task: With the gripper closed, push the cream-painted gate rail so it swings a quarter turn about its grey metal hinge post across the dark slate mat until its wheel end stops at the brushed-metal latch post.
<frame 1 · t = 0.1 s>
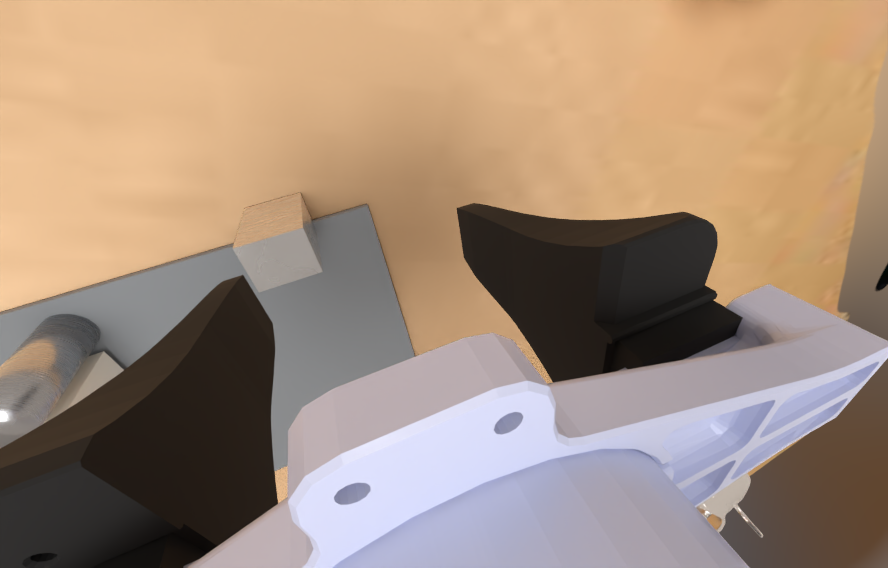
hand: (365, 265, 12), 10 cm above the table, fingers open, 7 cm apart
gate: (142, 448, 21), point 3 cm above the table, hinge at 0.0°
mat: (264, 376, 25), on the table
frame: (74, 327, 19), on the table
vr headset: (677, 464, 72), on the table
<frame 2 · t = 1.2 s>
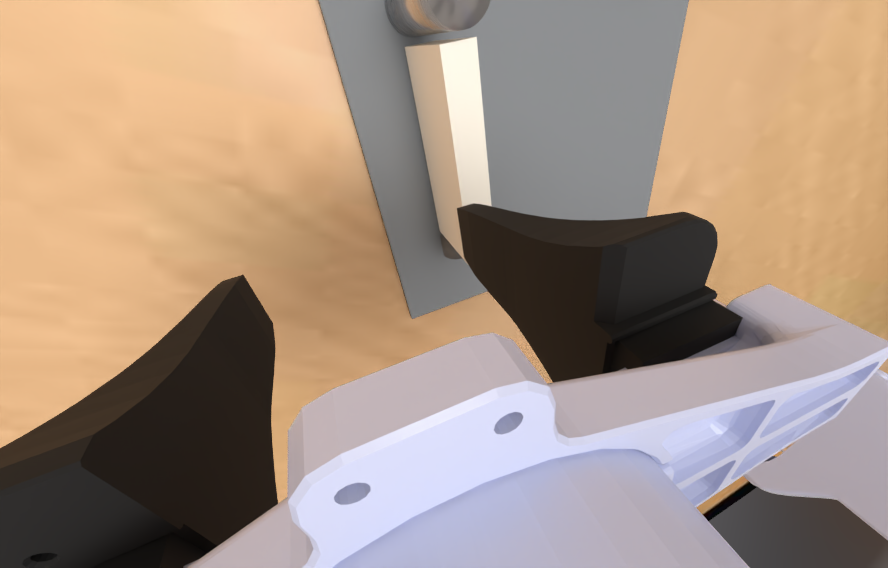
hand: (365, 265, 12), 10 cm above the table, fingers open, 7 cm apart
gate: (454, 172, 18), point 3 cm above the table, hinge at 0.0°
mat: (531, 144, 23), on the table
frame: (408, 6, 17), on the table
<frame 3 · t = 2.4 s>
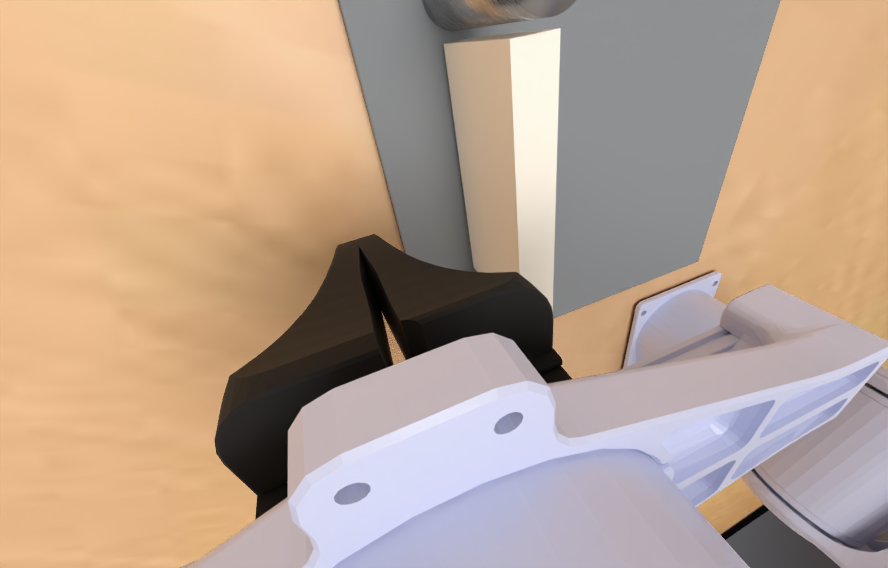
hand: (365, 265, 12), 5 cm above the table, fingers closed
gate: (502, 203, 14), point 3 cm above the table, hinge at 0.0°
mat: (584, 163, 19), on the table
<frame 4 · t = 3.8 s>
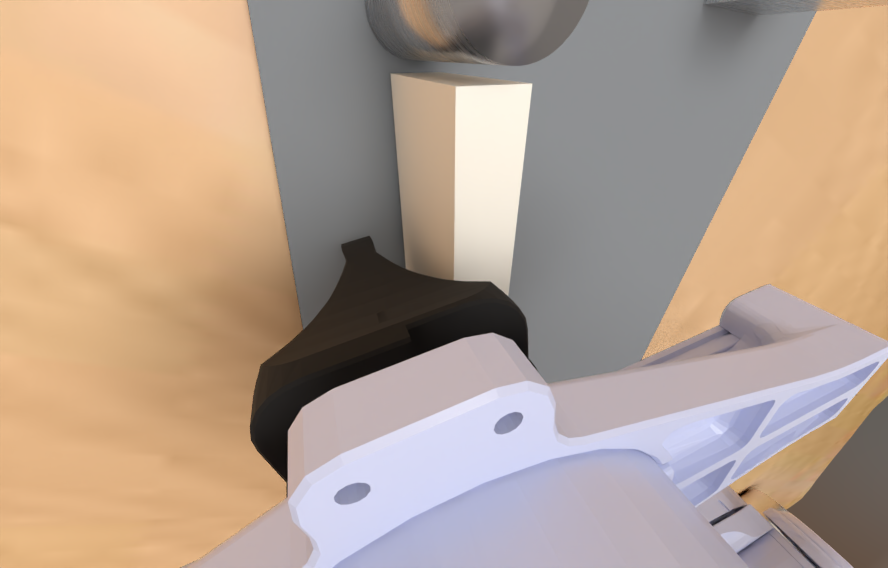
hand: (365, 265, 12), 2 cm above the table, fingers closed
gate: (446, 280, 11), point 3 cm above the table, hinge at 5.3°, touching gripper
mat: (538, 246, 16), on the table
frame: (405, 9, 10), on the table
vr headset: (715, 512, 67), on the table
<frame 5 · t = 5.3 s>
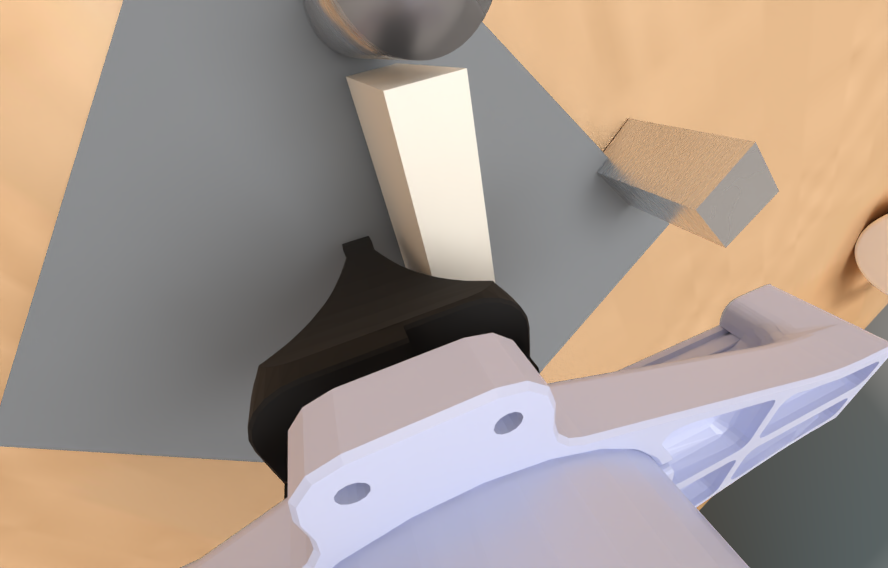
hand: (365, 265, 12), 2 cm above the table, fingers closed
gate: (440, 275, 11), point 3 cm above the table, hinge at 47.8°, touching gripper
mat: (396, 306, 15), on the table
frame: (349, 5, 10), on the table
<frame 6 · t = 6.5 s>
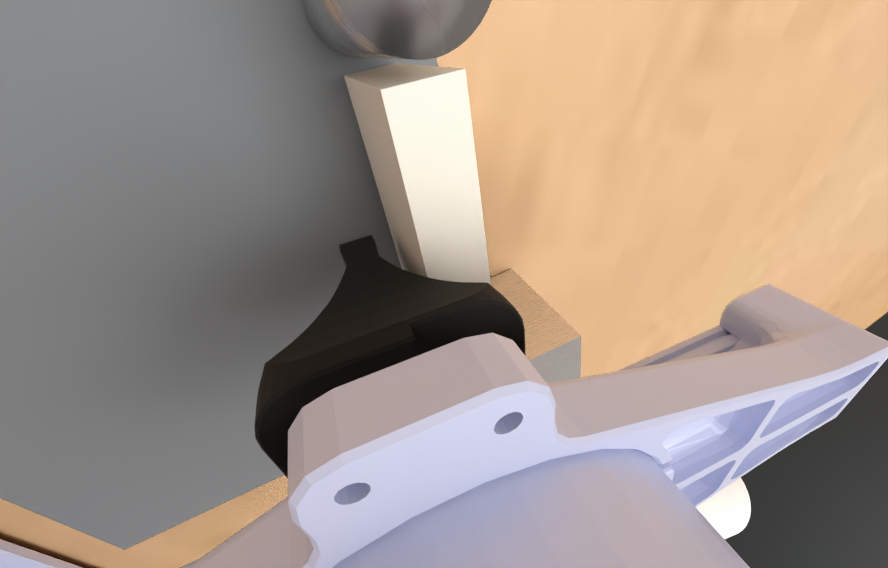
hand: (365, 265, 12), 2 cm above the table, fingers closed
gate: (436, 276, 11), point 3 cm above the table, hinge at 87.1°, touching gripper
mat: (199, 298, 12), on the table
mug: (628, 467, 37), on the table
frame: (348, 4, 9), on the table
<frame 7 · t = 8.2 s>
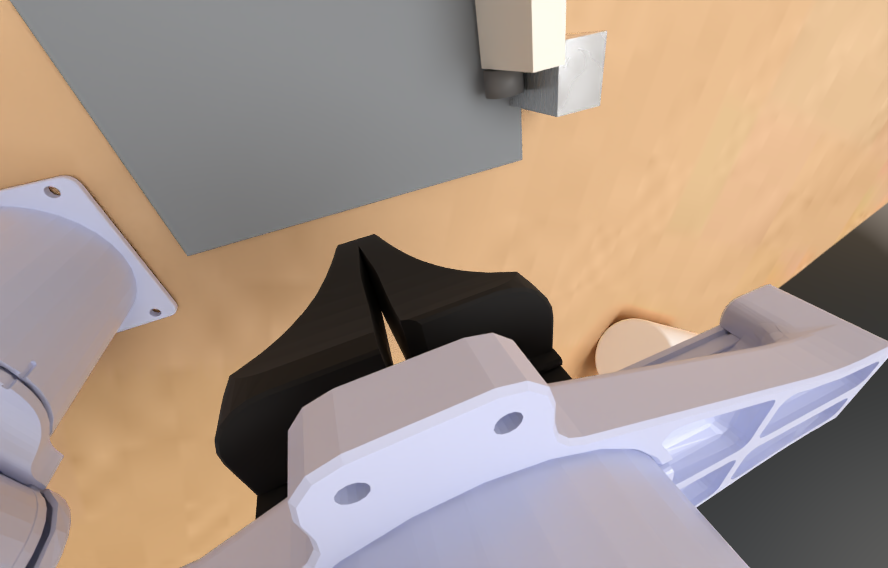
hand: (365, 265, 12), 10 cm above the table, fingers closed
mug: (618, 351, 40), on the table
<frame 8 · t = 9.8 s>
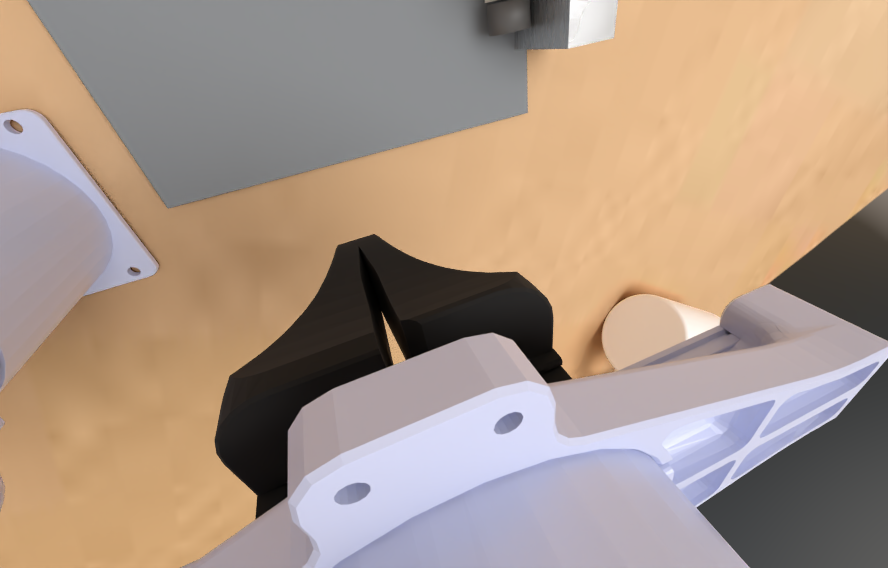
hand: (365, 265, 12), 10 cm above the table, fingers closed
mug: (624, 331, 39), on the table
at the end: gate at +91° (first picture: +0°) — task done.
